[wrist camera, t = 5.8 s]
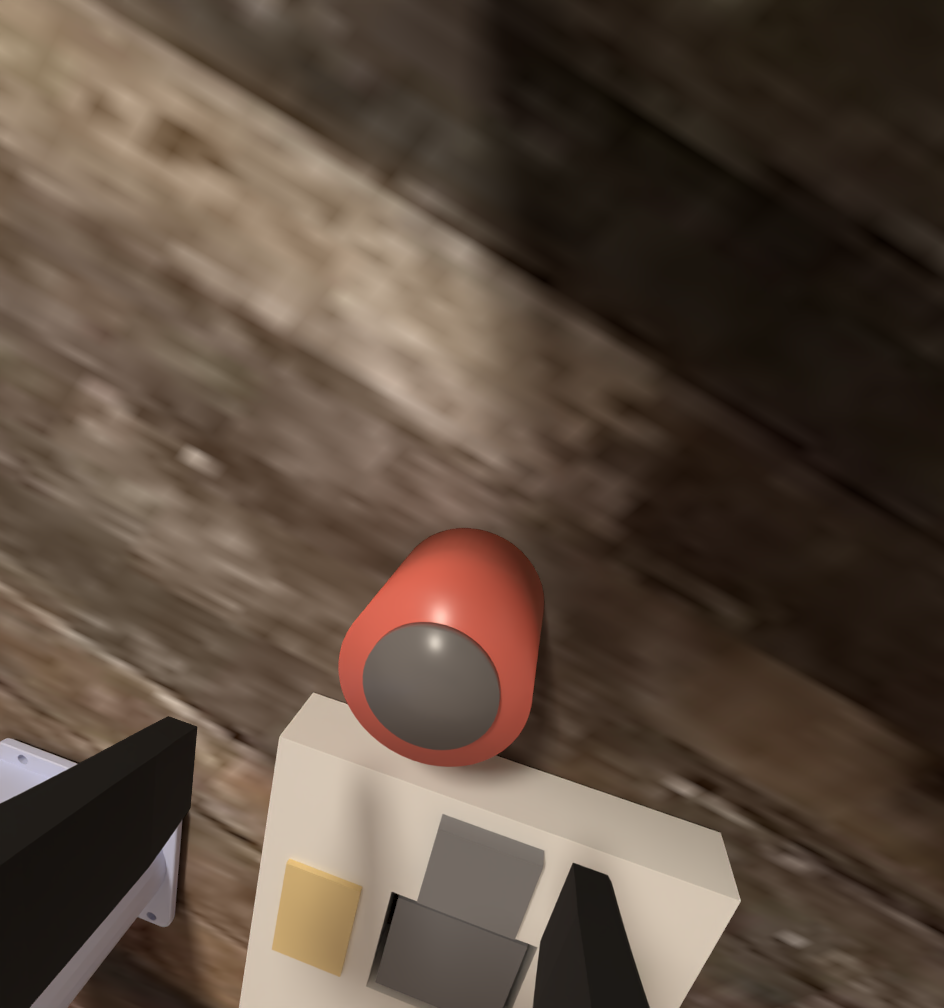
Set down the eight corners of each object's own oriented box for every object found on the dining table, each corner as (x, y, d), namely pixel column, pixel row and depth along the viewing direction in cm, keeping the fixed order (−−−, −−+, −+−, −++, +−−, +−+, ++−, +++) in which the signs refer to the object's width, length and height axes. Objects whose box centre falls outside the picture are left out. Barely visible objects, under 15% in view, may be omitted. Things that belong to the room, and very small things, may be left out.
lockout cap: (386, 637, 20) (320, 737, 15) (413, 509, 18) (350, 571, 13) (521, 682, 19) (501, 801, 14) (563, 553, 17) (557, 636, 12)
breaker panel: (268, 955, 26) (229, 1032, 23) (313, 692, 21) (270, 748, 18) (587, 1085, 24) (588, 1186, 21) (720, 832, 19) (746, 920, 16)
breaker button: (394, 921, 24) (375, 982, 21) (416, 841, 22) (398, 897, 20) (502, 963, 23) (493, 1030, 21) (533, 884, 21) (527, 947, 19)
